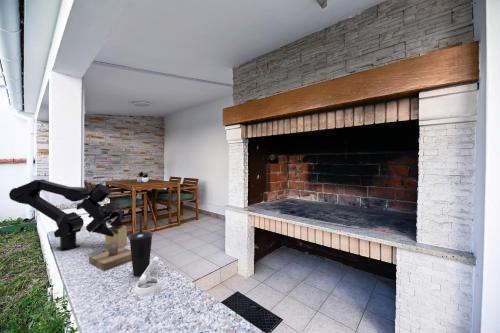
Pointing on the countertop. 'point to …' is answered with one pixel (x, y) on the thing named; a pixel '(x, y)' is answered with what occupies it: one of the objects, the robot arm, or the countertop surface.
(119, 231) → the collar
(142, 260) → the drinking cup
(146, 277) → the hook
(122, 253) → the post stand
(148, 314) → the countertop surface
